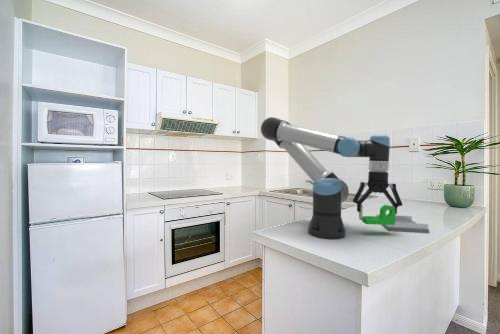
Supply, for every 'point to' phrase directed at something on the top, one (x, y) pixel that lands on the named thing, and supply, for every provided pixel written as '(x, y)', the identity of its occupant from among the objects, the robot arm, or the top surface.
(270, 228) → the top surface
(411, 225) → the rail guides
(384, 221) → the mechanical part
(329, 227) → the robot arm
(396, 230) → the mounting board
